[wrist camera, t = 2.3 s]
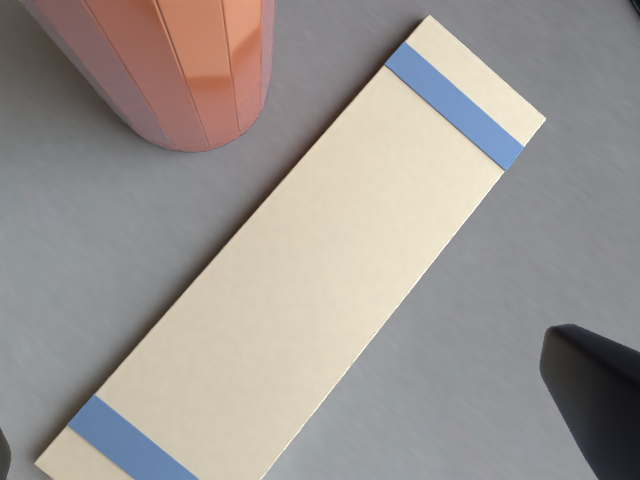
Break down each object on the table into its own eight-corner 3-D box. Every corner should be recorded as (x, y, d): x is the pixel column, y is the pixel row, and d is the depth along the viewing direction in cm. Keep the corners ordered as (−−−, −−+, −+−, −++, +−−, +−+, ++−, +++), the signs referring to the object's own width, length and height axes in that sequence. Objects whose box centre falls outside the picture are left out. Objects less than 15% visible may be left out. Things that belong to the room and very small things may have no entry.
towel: (182, 574, 18) (179, 583, 18) (38, 458, 18) (31, 464, 17) (540, 121, 22) (547, 117, 21) (424, 19, 22) (429, 12, 21)
